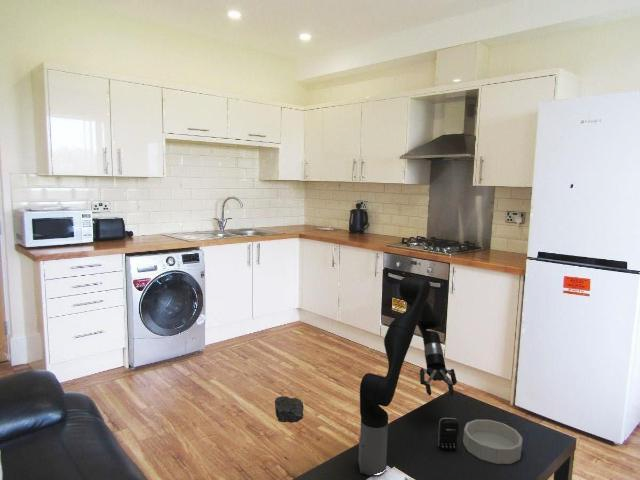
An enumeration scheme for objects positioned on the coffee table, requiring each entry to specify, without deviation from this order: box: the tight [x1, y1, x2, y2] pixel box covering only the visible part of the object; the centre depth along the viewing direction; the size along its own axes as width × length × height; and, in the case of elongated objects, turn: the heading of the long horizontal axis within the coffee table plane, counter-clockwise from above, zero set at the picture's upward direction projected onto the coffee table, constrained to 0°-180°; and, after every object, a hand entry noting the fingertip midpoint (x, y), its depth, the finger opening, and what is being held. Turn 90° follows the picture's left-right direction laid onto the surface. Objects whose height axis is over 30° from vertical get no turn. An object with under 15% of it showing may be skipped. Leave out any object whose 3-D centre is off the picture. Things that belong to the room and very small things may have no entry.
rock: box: [274, 395, 304, 424], centre depth 187 cm, size 13×6×15 cm
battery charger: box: [437, 417, 460, 451], centre depth 165 cm, size 7×4×11 cm, turn 89°
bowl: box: [462, 419, 523, 465], centre depth 167 cm, size 20×20×6 cm
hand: (440, 395), depth 176 cm, fingers open, 8 cm apart
